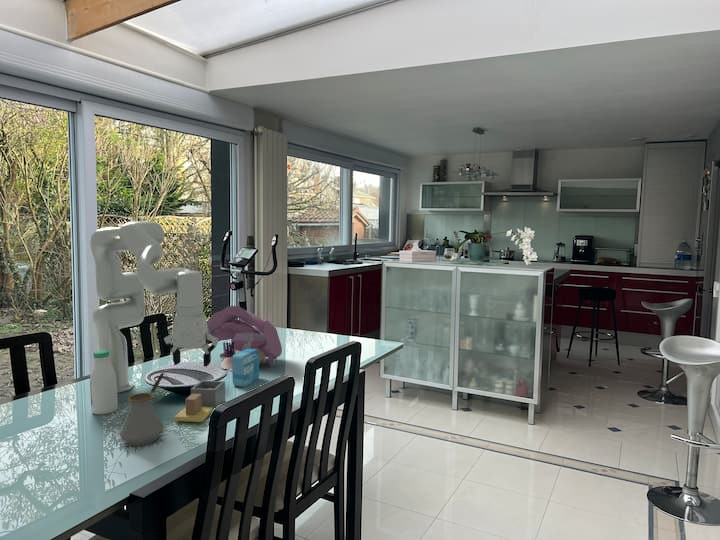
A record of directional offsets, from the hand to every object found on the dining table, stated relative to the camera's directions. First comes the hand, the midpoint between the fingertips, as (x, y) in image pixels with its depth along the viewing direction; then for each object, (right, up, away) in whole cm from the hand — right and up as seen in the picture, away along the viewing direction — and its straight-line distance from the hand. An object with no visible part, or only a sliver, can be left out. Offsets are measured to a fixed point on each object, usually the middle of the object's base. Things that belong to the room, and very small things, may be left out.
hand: (192, 364), depth 160 cm
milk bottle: (-31, -17, +8) cm, 36 cm away
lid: (0, -17, +2) cm, 17 cm away
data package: (+9, -14, +35) cm, 39 cm away
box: (+2, -16, +13) cm, 21 cm away
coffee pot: (-10, -19, -8) cm, 23 cm away
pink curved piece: (+3, -11, +58) cm, 59 cm away
